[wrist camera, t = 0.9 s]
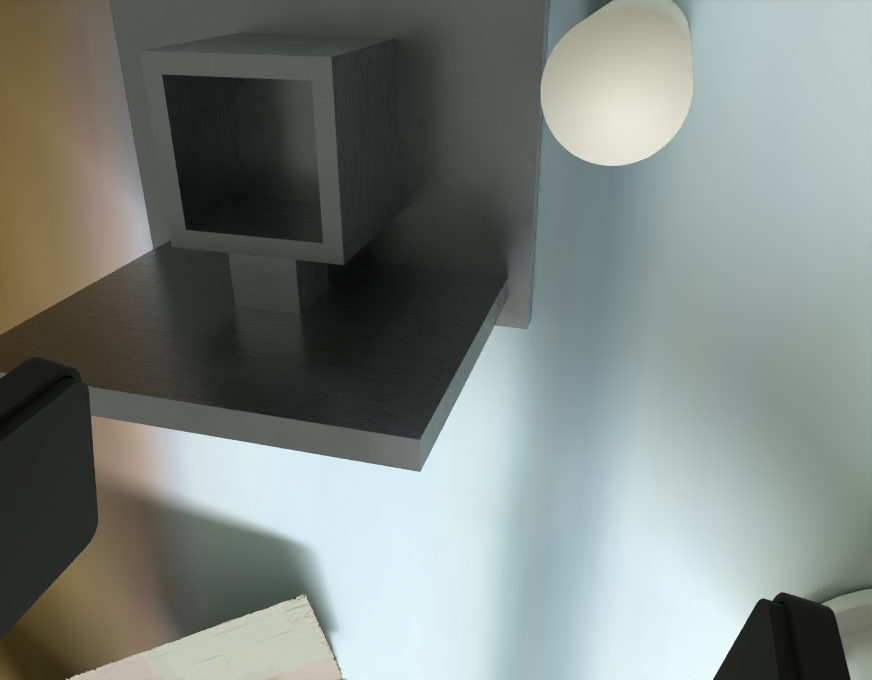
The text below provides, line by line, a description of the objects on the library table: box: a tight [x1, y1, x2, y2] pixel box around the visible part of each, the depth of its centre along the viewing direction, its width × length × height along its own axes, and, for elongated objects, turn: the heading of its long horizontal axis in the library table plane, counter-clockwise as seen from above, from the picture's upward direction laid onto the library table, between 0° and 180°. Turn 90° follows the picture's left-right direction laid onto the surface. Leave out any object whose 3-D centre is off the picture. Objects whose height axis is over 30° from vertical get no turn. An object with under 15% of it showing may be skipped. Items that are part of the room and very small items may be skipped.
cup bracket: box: [0, 0, 549, 472], centre depth 30 cm, size 15×20×15 cm
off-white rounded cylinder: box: [541, 0, 694, 166], centre depth 26 cm, size 4×4×12 cm
